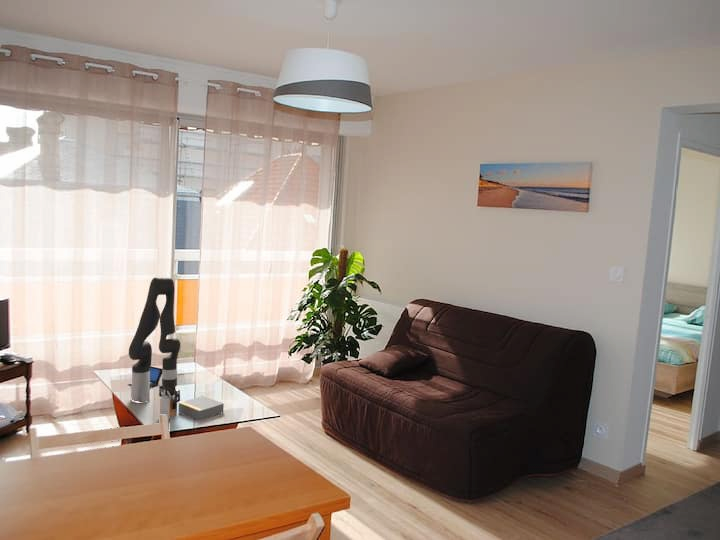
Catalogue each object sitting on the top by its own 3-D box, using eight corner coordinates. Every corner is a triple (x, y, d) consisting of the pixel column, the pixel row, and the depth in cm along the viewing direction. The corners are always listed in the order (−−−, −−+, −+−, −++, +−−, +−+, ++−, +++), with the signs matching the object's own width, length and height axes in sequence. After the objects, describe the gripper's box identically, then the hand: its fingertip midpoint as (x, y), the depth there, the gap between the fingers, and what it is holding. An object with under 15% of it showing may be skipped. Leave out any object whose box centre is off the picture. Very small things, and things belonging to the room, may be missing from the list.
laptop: (127, 385, 360) (127, 370, 359) (143, 379, 372) (143, 364, 371) (148, 389, 354) (148, 374, 353) (163, 383, 367) (163, 368, 365)
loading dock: (178, 412, 321) (178, 402, 321) (202, 404, 334) (202, 395, 334) (199, 420, 311) (199, 410, 311) (223, 412, 324) (223, 402, 324)
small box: (169, 419, 311) (169, 399, 309) (159, 418, 312) (159, 398, 311) (177, 414, 319) (177, 394, 317) (167, 412, 320) (167, 393, 318)
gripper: (154, 375, 314) (154, 405, 316) (172, 381, 306) (172, 412, 308) (167, 372, 320) (167, 402, 322) (184, 378, 312) (184, 408, 314)
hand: (169, 407), depth 315 cm, fingers open, 8 cm apart
